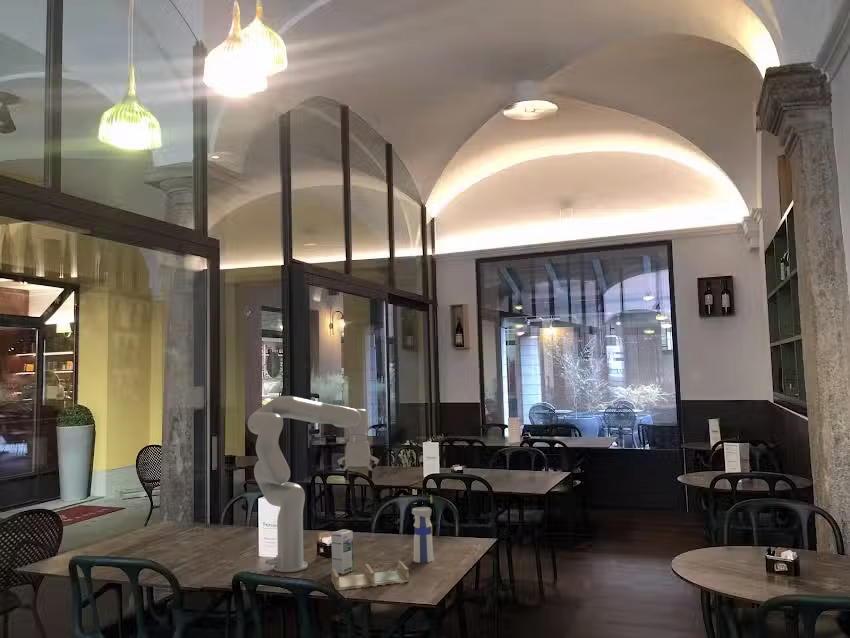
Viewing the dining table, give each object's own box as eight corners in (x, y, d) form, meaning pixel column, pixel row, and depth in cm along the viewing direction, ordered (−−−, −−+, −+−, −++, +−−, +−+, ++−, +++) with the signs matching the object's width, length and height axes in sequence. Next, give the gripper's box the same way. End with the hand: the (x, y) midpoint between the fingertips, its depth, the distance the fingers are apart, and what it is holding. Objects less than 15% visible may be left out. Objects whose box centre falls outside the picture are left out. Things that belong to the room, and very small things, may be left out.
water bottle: (434, 556, 264) (432, 491, 266) (435, 562, 256) (433, 495, 258) (413, 557, 264) (411, 492, 266) (413, 563, 255) (411, 496, 257)
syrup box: (343, 574, 243) (342, 533, 244) (331, 572, 247) (330, 531, 248) (354, 570, 248) (353, 530, 249) (342, 568, 251) (341, 528, 253)
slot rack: (336, 590, 225) (336, 576, 225) (331, 580, 236) (331, 567, 237) (408, 582, 231) (408, 568, 232) (400, 573, 243) (400, 560, 243)
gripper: (335, 439, 279) (335, 481, 277) (377, 438, 277) (377, 481, 276) (339, 438, 286) (339, 479, 284) (379, 437, 285) (380, 478, 283)
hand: (358, 480), depth 280 cm, fingers open, 9 cm apart
